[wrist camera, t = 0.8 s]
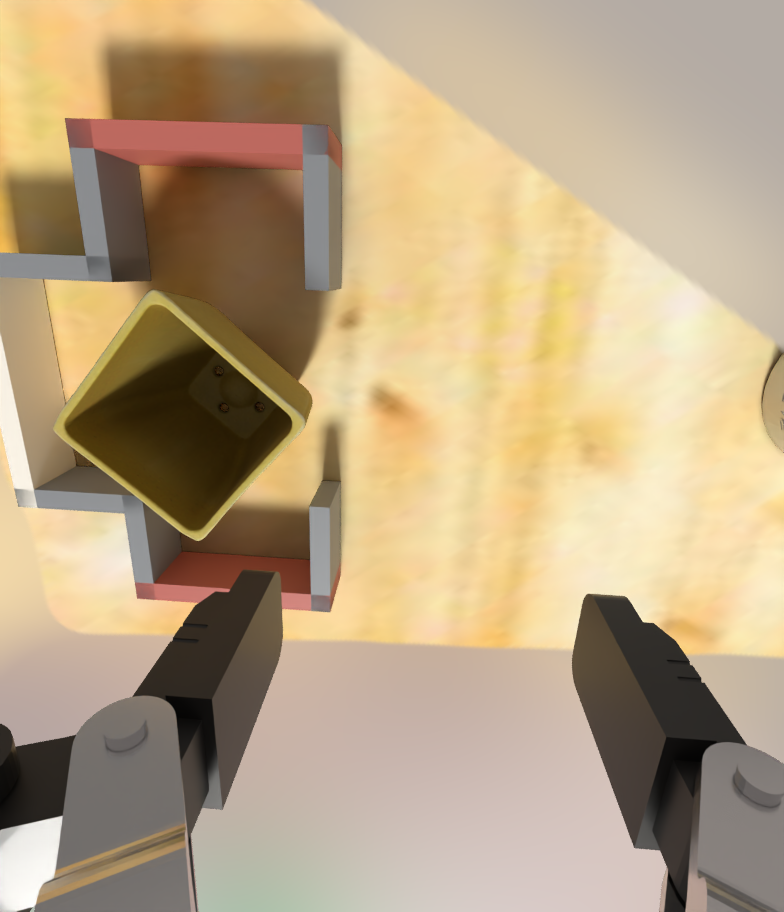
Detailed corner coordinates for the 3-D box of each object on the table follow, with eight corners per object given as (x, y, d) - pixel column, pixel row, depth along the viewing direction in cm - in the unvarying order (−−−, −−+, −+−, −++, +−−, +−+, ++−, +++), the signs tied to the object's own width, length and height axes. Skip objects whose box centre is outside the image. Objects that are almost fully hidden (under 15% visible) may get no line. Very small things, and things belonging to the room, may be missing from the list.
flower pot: (228, 280, 30) (149, 283, 22) (340, 383, 32) (309, 423, 23) (145, 388, 33) (46, 429, 24) (254, 478, 34) (196, 546, 26)
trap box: (-4, 135, 28) (-70, 114, 24) (341, 145, 27) (328, 125, 24) (76, 559, 37) (37, 591, 33) (340, 576, 36) (330, 612, 32)
